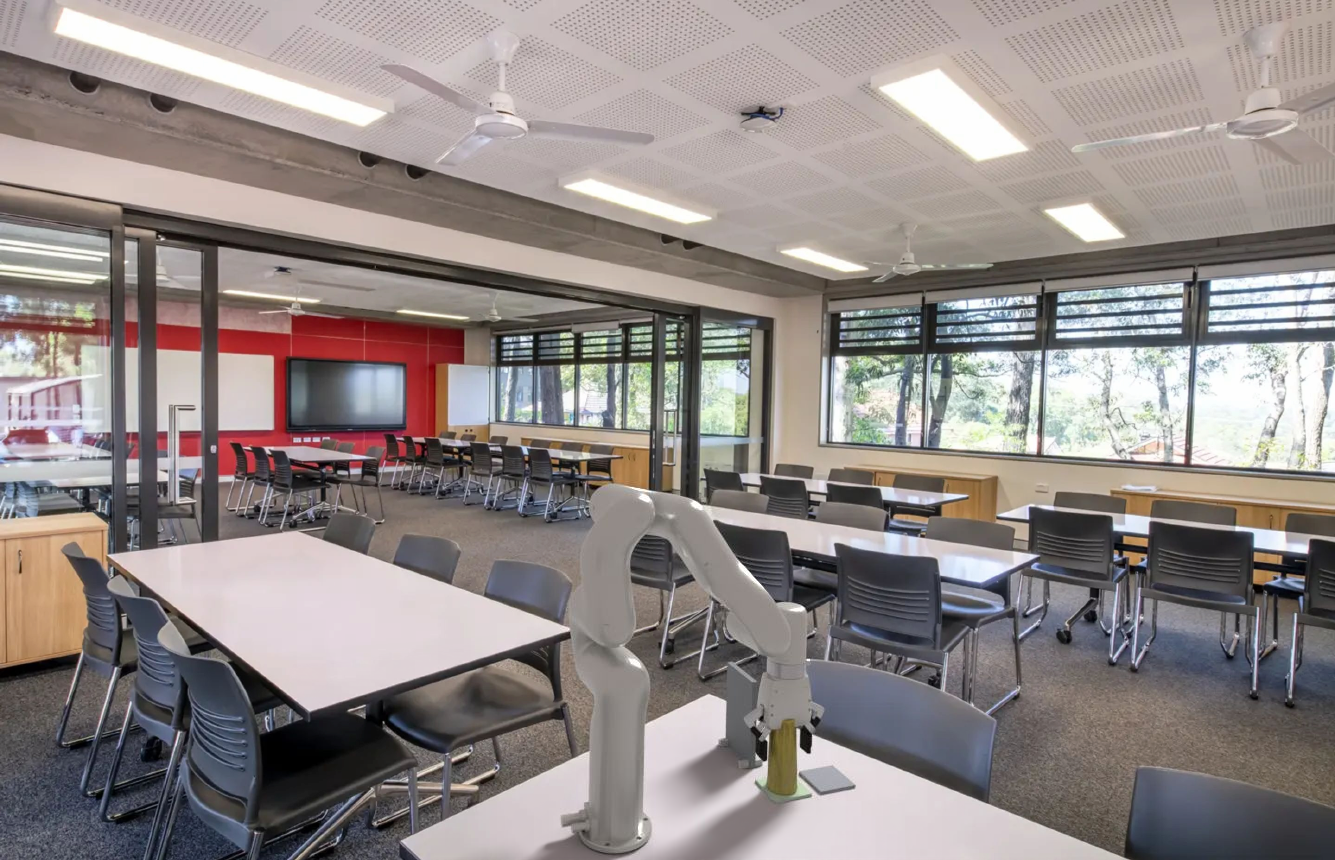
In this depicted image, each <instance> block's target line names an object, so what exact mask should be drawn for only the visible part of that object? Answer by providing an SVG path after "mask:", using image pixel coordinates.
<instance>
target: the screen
mask: <svg viewBox="0 0 1335 860" xmlns="http://www.w3.org/2000/svg"><path fill="white" fill-rule="evenodd" d="M726 665H727V667H726V668H727V669H726V701H725V702H726V703H725V705H726V706H725V708H726V709H725V737H722V738H718V741H717V742H718V743H717V744H718V746H719V747H727V746H729V748H731V750H732V751H733V752H734V753H735V754H736V755H737V756H738V758H740V759H741V760H739V759H738V767H739V769H740V770H743V769H748V768H749V769H755V768H756V767H760V766H761V767H762V766H763V765H764V764H763V761H762V760H761V759H760V758H759V757H758V756H757V754H756V752H755V745H756V736H755V735H754V734H753V733H752V732H751V731H750V730H749V729H748V727H747V725H746V723H745V721H744V717H745V716H746V715H747V714H749V713H750V712H752V711H753V710H754V709H756V708H757V702H758V681H757V680H756V679H755V678H753V677H752V676H751V675H750V674H748V673H747V672H746V671H745V670H743V669H742V668H741V667H740V666H738V665H737V664H736V663H735V662H734V661H728V662H727V663H726ZM757 721H758V720H757V719H756V720H755V721H754V724H755V727H757ZM756 756H757V757H756Z"/></svg>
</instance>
